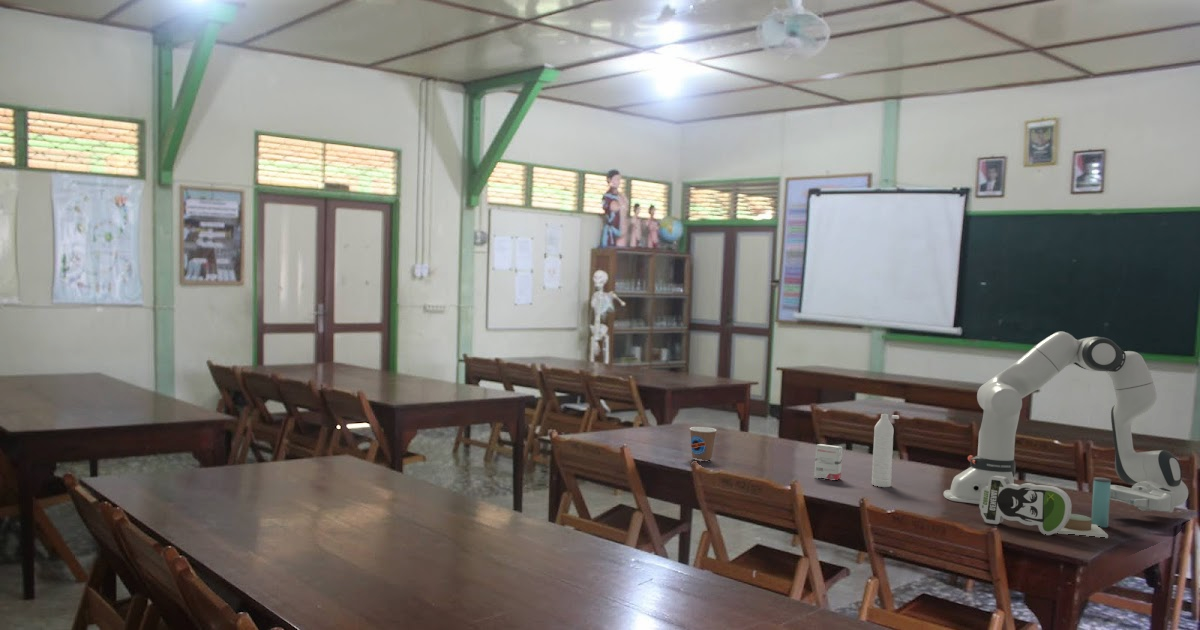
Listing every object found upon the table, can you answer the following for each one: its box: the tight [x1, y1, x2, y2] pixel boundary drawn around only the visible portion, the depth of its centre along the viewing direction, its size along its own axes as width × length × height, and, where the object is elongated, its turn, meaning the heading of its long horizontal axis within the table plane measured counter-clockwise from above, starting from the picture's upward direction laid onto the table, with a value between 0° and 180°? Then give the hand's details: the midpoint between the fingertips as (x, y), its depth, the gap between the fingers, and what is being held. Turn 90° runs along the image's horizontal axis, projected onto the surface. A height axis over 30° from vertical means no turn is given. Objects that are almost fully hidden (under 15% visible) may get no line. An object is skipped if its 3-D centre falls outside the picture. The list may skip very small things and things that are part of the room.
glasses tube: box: [1090, 476, 1112, 528], centre depth 281 cm, size 5×5×14 cm
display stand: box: [1055, 513, 1109, 539], centre depth 274 cm, size 14×12×4 cm
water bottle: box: [871, 413, 900, 488], centre depth 326 cm, size 9×6×25 cm
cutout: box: [978, 476, 1073, 536], centre depth 273 cm, size 15×3×25 cm
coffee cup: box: [689, 426, 717, 460], centre depth 362 cm, size 10×10×12 cm
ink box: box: [813, 443, 843, 481], centre depth 336 cm, size 9×5×12 cm, turn 58°
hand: (1117, 498), depth 285 cm, fingers open, 8 cm apart
